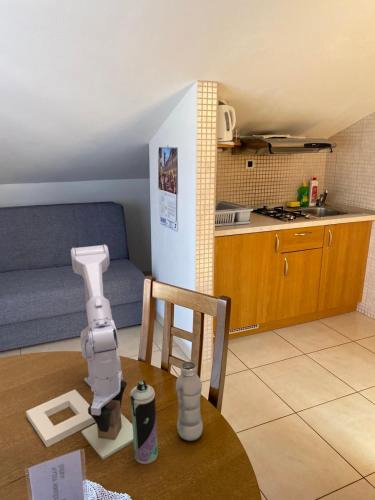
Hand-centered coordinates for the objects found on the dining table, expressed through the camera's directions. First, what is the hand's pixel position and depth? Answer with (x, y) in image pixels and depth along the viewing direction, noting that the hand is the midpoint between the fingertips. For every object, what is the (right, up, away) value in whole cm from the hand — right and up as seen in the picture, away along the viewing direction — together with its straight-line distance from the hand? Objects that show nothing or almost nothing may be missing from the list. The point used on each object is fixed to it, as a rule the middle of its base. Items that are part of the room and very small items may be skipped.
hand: (110, 419), depth 98 cm
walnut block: (0, -4, +1) cm, 4 cm away
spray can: (+9, -6, -5) cm, 12 cm away
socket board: (-14, -3, +7) cm, 16 cm away
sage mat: (0, -4, +1) cm, 5 cm away
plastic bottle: (+20, -4, +1) cm, 20 cm away
